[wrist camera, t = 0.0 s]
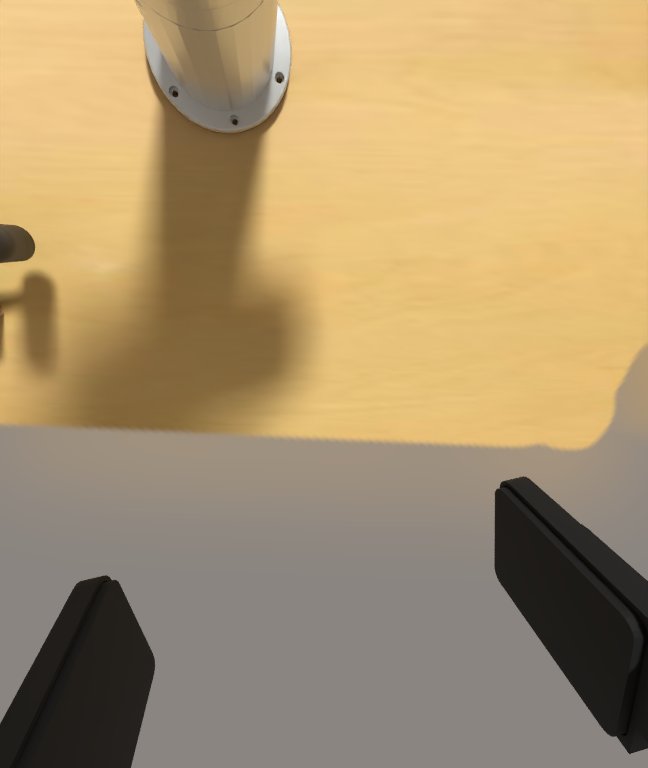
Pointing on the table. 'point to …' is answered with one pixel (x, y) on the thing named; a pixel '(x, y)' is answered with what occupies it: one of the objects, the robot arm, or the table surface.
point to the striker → (15, 244)
